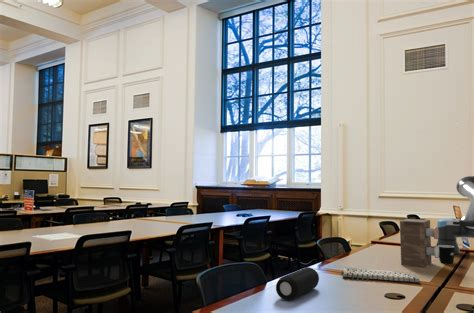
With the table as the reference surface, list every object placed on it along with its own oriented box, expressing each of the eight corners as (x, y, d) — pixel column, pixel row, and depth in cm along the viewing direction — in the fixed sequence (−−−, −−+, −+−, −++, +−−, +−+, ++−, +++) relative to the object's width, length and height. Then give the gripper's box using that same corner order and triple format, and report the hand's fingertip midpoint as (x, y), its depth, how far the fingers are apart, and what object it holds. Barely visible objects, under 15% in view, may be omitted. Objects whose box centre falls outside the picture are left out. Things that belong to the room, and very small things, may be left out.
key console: (408, 260, 242) (407, 218, 244) (431, 263, 234) (430, 220, 236) (401, 265, 230) (399, 220, 231) (424, 268, 222) (423, 222, 223)
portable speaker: (301, 286, 186) (301, 265, 186) (321, 289, 180) (320, 267, 180) (274, 299, 165) (273, 275, 166) (294, 303, 159) (294, 279, 160)
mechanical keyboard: (415, 276, 205) (415, 270, 205) (422, 286, 186) (421, 279, 187) (341, 272, 215) (341, 266, 215) (341, 281, 197) (340, 274, 197)
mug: (452, 265, 228) (451, 248, 229) (436, 263, 235) (435, 246, 235) (458, 262, 237) (458, 245, 237) (443, 260, 243) (442, 243, 244)
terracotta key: (417, 236, 236) (416, 224, 236) (438, 238, 228) (438, 226, 229) (413, 238, 230) (413, 225, 231) (436, 239, 223) (435, 227, 223)
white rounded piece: (417, 255, 235) (417, 243, 236) (439, 257, 228) (439, 244, 228) (414, 256, 230) (414, 244, 230) (436, 259, 222) (436, 246, 222)
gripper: (495, 233, 202) (444, 230, 217) (497, 230, 213) (449, 227, 228) (494, 219, 203) (444, 216, 217) (497, 216, 214) (449, 214, 229)
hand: (447, 222), depth 223 cm, fingers closed
